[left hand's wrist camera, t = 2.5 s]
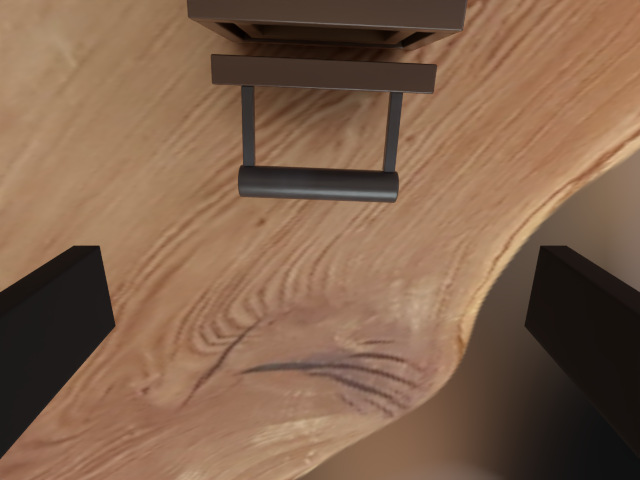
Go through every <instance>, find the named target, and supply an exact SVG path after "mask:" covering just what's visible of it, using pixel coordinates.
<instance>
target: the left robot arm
mask: <svg viewBox="0 0 640 480" xmlns="http://www.w3.org/2000/svg"><path fill="white" fill-rule="evenodd" d="M114 327H115V321H114V316H113V311H112V306H111V301H110V296H109V291H108V286H107V281H106V276H105V271H104V266H103V261H102V256H101V251H100V246H73V247H71V248H69V249H68V250H66V251H65V252H63V253H61V254H60V255H58V256H57V257H55V258H54V259H52V260H50V261H49V262H47V263H46V264H44V265H43V266H41V267H39V268H38V269H36V270H35V271H33V272H31V273H30V274H28V275H27V276H25V277H24V278H22V279H20V280H19V281H17V282H16V283H14V284H13V285H11V286H9V287H8V288H6V289H5V290H3V291H2V292H0V459H1V458H2V456H3V455H4V454H5V453H6V452H7V451H8V450H9V448H10V447H11V446H12V445H13V444H14V443H15V441H16V440H17V439H18V438H19V437H20V436H21V435H22V433H23V432H24V431H25V430H26V429H27V428H28V426H29V425H30V424H31V423H32V422H33V421H34V420H35V418H36V417H37V416H38V415H39V414H40V413H41V411H42V410H43V409H44V408H45V407H46V406H47V404H48V403H49V402H50V401H51V400H52V399H53V398H54V396H55V395H56V394H57V393H58V392H59V391H60V389H61V388H62V387H63V386H64V385H65V384H66V383H67V381H68V380H69V379H70V378H71V377H72V376H73V374H74V373H75V372H76V371H77V370H78V369H79V368H80V366H81V365H82V364H83V363H84V362H85V361H86V359H87V358H88V357H89V356H90V355H91V354H92V352H93V351H94V350H95V349H96V348H97V347H98V346H99V344H100V343H101V342H102V341H103V340H104V339H105V337H106V336H107V335H108V334H109V333H110V332H111V331H112V329H113V328H114ZM525 327H526V328H527V329H528V330H529V332H530V333H531V334H532V335H533V336H534V337H535V339H536V340H537V341H538V342H539V343H540V344H541V346H542V347H543V348H544V349H545V350H546V351H547V352H548V354H549V355H550V356H551V357H552V358H553V359H554V361H555V362H556V363H557V364H558V365H559V366H560V368H561V369H562V370H563V371H564V372H565V373H566V374H567V376H568V377H569V378H570V379H571V380H572V381H573V383H574V384H575V385H576V386H577V387H578V388H579V389H580V391H581V392H582V393H583V394H584V395H585V396H586V398H587V399H588V400H589V401H590V402H591V403H592V404H593V406H594V407H595V408H596V409H597V410H598V411H599V412H600V414H601V415H602V416H603V417H604V418H605V420H606V421H607V422H608V423H609V424H610V425H611V426H612V428H613V429H614V430H615V431H616V432H617V433H618V435H619V436H620V437H621V438H622V439H623V440H624V441H625V443H626V444H627V445H628V446H629V447H630V448H631V450H632V451H633V452H634V453H635V454H636V455H637V456H638V458H639V459H640V292H638V291H637V290H635V289H634V288H632V287H631V286H629V285H627V284H626V283H624V282H623V281H621V280H619V279H618V278H616V277H615V276H613V275H612V274H610V273H608V272H607V271H605V270H604V269H602V268H601V267H599V266H597V265H596V264H594V263H593V262H591V261H590V260H588V259H586V258H585V257H583V256H582V255H580V254H578V253H577V252H575V251H574V250H572V249H571V248H569V247H567V246H540V251H539V256H538V261H537V266H536V271H535V276H534V281H533V286H532V291H531V296H530V301H529V306H528V311H527V316H526V321H525Z"/></svg>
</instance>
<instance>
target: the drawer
mask: <svg viewBox="0 0 640 480" xmlns="http://www.w3.org/2000/svg"><path fill="white" fill-rule="evenodd" d="M234 24H236V25H237V26H238V27H240V28H241V29H242V30H243V31H245V32H246V33H247V34H248V35H250V36H251V37H252V38H268V39H289V40H311V41H332V42H353V43H375V44H396V43H398V42H399V41H401V40H403V39H405V38H406V37H408V36H410V35H412V34H413V33H415V32H414V31H393V30H372V29H350V28H329V27H308V26H287V25H266V24H245V23H234ZM436 70H437V65H436V64H417V63H395V62H373V61H351V60H329V59H308V58H286V57H264V56H242V55H220V54H211V71H212V84H220V85H242V87H241V92H242V135H243V165H241V166H240V168H239V174H238V190H239V194H240V196H241V197H258V198H284V199H310V200H336V201H361V202H387V203H394V202H395V201H396V199H397V196H398V189H399V177H398V173H397V172H396V171H395V164H396V155H397V145H398V136H399V126H400V117H401V107H402V98H403V93H423V94H433V92H434V85H435V77H436ZM254 86H264V87H287V88H309V89H332V90H355V91H377V92H390V95H389V106H388V117H387V127H386V138H385V148H384V159H383V171H377V170H353V169H328V168H303V167H278V166H254V165H255V95H254Z"/></svg>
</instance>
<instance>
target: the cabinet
mask: <svg viewBox="0 0 640 480" xmlns="http://www.w3.org/2000/svg"><path fill="white" fill-rule="evenodd" d="M466 5H467V0H187V8H188V17H189V18H190V19H192V20H194V21H196V22H198V23H200V24H201V25H203V26H205V27H207V28H209V29H210V30H212V31H214V32H216V33H218V34H219V35H221V36H223V37H225V38H227V39H228V40H230V41H232V42H241V43H263V44H284V45H306V46H327V47H349V48H370V49H392V50H415V49H418V48H420V47H423V46H425V45H428V44H430V43H433V42H435V41H438V40H440V39H443V38H445V37H448V36H450V35H453V34H455V33H458V32H460V31H462V30H463V26H464V19H465V12H466ZM234 23H245V24H266V25H287V26H308V27H329V28H350V29H372V30H393V31H414V32H415V33H413V34H412V35H410V36H408V37H406V38H405V39H403V40H401V41H399V42H398V43H396V44H375V43H353V42H332V41H311V40H289V39H268V38H252V37H251V36H250V35H248V34H247V33H246V32H245V31H243V30H242V29H241V28H240V27H238V26H237V25H236V24H234Z"/></svg>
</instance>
